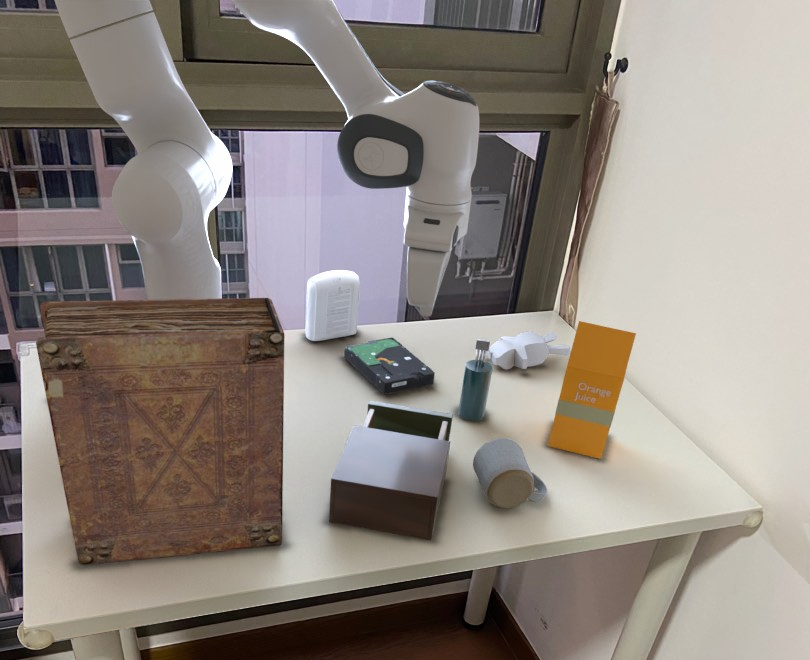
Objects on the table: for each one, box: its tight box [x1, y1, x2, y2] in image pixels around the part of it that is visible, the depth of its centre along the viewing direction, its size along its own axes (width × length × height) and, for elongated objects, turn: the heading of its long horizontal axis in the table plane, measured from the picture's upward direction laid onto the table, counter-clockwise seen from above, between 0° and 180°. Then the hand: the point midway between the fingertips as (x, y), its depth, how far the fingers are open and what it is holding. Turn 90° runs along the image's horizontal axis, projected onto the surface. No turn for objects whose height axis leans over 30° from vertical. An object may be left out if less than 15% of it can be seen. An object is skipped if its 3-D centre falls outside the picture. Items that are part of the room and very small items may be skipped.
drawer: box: [362, 400, 454, 441], centre depth 127 cm, size 18×13×6 cm
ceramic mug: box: [472, 437, 548, 509], centre depth 121 cm, size 11×8×8 cm
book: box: [35, 297, 285, 566], centre depth 100 cm, size 25×9×30 cm, turn 106°
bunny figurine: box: [486, 330, 572, 370], centre depth 157 cm, size 10×5×15 cm
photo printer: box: [304, 269, 361, 342], centre depth 156 cm, size 10×4×12 cm, turn 124°
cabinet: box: [328, 424, 451, 541], centre depth 117 cm, size 14×14×7 cm
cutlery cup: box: [457, 338, 494, 422], centre depth 137 cm, size 4×4×13 cm
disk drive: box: [344, 337, 436, 395], centre depth 149 cm, size 10×3×15 cm
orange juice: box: [547, 320, 637, 460], centre depth 132 cm, size 8×9×20 cm
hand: (426, 312), depth 124 cm, fingers closed
